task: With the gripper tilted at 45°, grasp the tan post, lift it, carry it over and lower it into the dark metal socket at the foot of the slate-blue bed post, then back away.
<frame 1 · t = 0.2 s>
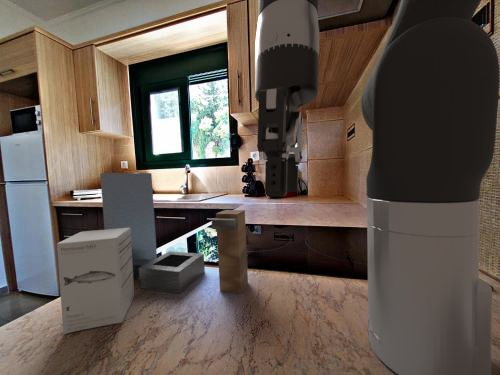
hand: (283, 193, 27), 18 cm above the countertop, tool pointing down, fingers open, 8 cm apart
tan post: (234, 286, 39), on the countertop
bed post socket: (174, 279, 43), on the countertop
supplement box: (104, 315, 33), on the countertop
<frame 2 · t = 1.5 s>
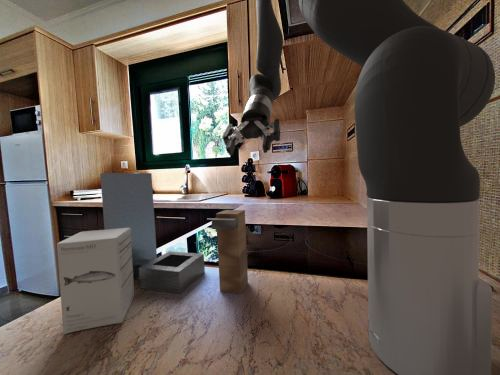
hand: (246, 151, 49), 26 cm above the countertop, tool tilted 45°, fingers open, 8 cm apart
nothing on the countertop moved.
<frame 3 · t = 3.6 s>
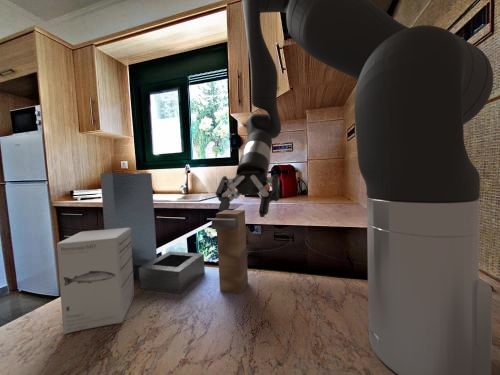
hand: (241, 214, 44), 12 cm above the countertop, tool tilted 45°, fingers open, 8 cm apart
nothing on the countertop moved.
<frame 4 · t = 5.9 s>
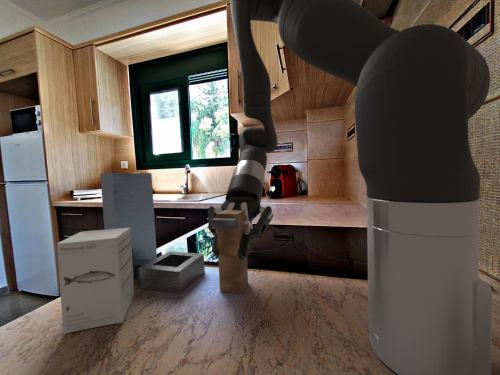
hand: (228, 256, 37), 6 cm above the countertop, tool tilted 45°, fingers closed on tan post, 4 cm apart
tan post: (234, 286, 39), on the countertop, touching gripper
everything else where it was.
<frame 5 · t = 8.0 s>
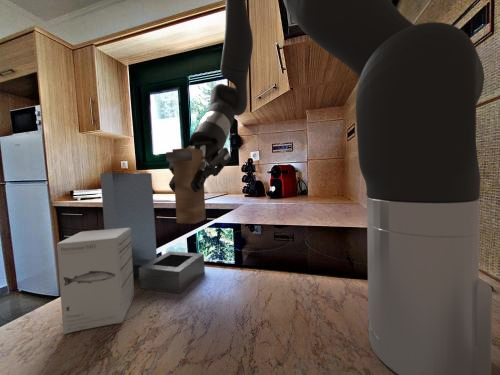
hand: (183, 189, 40), 18 cm above the countertop, tool tilted 45°, fingers closed on tan post, 4 cm apart
tan post: (191, 220, 42), point 12 cm above the countertop, touching gripper
everything else where it was.
when the fingers open (8 cm above the countertop, at t = 10.4 s): tan post drops 1 cm, resting in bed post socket.
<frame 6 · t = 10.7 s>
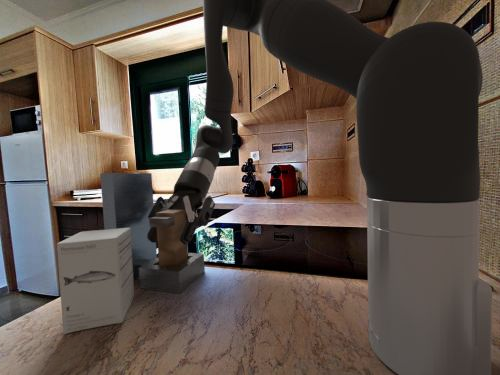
hand: (167, 241, 41), 8 cm above the countertop, tool tilted 45°, fingers open, 7 cm apart
tan post: (175, 279, 43), resting in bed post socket
everything else where it was.
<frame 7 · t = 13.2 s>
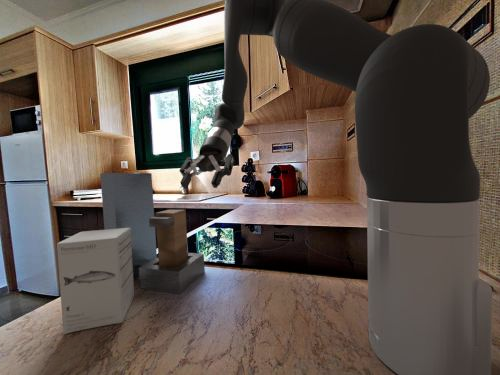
hand: (198, 186, 53), 18 cm above the countertop, tool tilted 45°, fingers open, 8 cm apart
nothing on the countertop moved.
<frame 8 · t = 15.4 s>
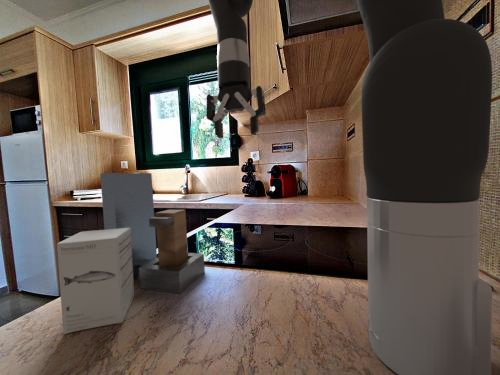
hand: (236, 136, 51), 30 cm above the countertop, tool pointing down, fingers open, 8 cm apart
nothing on the countertop moved.
at the end: tan post 0.1 cm off-centre on the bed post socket, point 0.0 cm above the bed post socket's base; tan post tilted 0°; the gripper is holding nothing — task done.
